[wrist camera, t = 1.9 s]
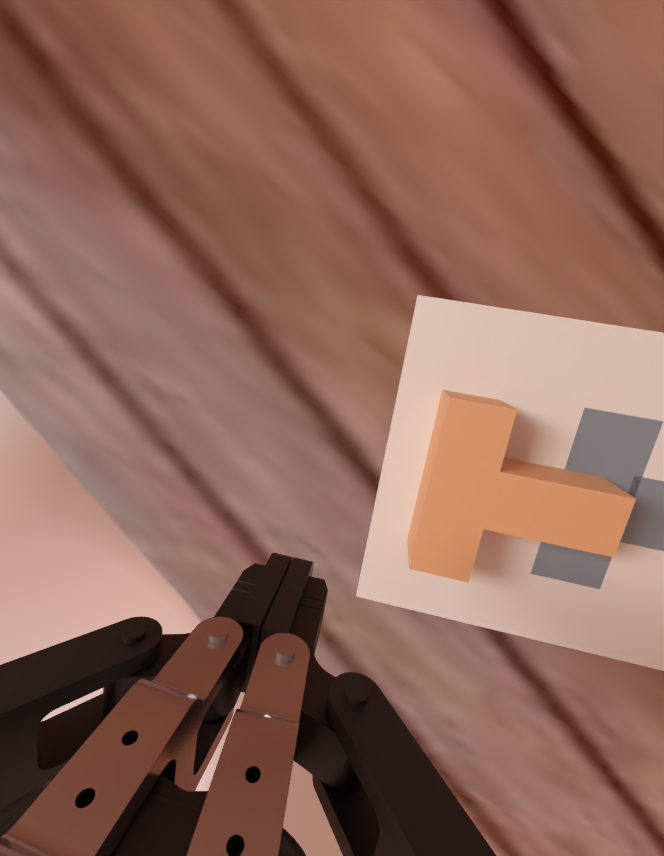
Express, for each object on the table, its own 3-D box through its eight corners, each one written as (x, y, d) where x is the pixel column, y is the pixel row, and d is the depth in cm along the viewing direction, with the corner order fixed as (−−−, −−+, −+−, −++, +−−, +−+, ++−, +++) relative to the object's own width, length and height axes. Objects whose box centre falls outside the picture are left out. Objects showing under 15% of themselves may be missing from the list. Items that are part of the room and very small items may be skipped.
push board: (907, 371, 24) (921, 372, 23) (745, 685, 30) (752, 692, 29) (417, 296, 27) (417, 295, 26) (356, 591, 33) (356, 596, 32)
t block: (621, 421, 26) (660, 435, 22) (566, 575, 29) (593, 611, 25) (442, 389, 28) (449, 397, 24) (407, 539, 30) (409, 568, 27)
